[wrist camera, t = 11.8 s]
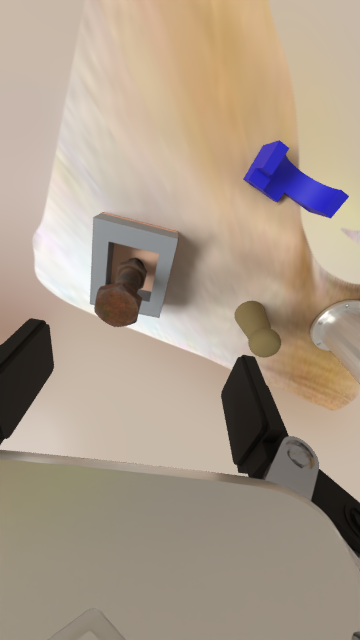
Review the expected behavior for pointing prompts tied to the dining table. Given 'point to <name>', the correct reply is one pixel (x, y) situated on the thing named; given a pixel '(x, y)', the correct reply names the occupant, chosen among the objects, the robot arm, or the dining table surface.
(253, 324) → the cork
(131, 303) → the bolt
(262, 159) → the cable clip
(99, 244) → the socket block
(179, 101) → the dining table surface
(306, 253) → the dining table surface
